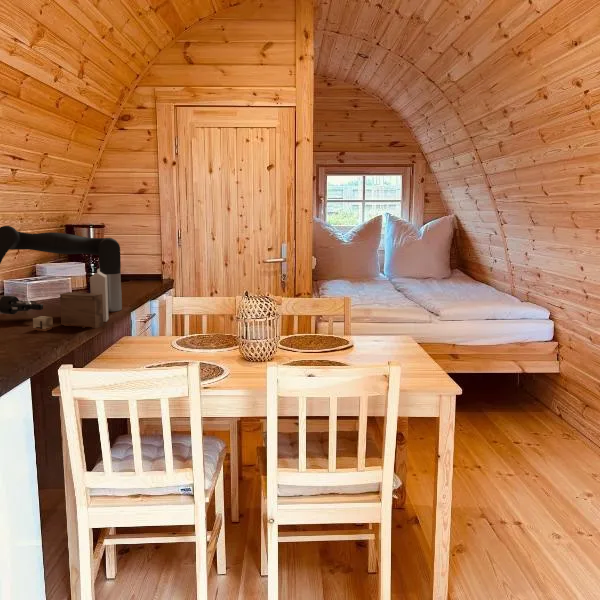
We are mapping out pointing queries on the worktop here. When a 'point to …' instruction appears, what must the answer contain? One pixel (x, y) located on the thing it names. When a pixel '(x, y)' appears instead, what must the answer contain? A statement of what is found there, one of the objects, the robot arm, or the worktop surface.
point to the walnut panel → (82, 309)
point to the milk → (100, 290)
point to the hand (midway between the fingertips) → (42, 307)
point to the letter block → (42, 322)
